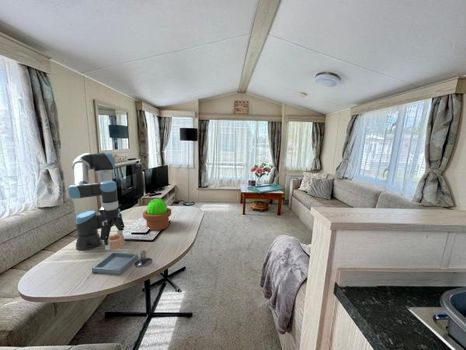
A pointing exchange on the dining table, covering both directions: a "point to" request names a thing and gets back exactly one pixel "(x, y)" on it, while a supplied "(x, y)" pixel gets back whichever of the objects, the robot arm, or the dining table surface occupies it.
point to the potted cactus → (157, 214)
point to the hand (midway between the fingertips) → (114, 245)
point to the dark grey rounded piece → (143, 260)
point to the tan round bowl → (116, 241)
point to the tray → (115, 263)
